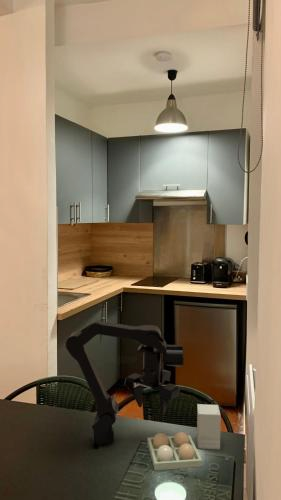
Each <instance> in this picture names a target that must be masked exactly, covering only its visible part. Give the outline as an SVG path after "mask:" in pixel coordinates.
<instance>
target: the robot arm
mask: <svg viewBox="0 0 281 500" xmlns="http://www.w3.org/2000/svg"><path fill="white" fill-rule="evenodd" d="M97 335H100V336H106V337H107V336H108V337H113V338H119V339H120V338H121V339H126V340H132V341H134V342H137V343H138V344H139V346H138V347H137V353H143V354H142V355H143V360H142V361H143V363H142V366H143V367H141V368H140V372H141V373H142V374H138V373H136V372H134V373H132V374H130V375H127V376H126V378H125V380H124V386H125V387H127V389H128V390H129V391H130V393H131V394H132V396H133V397H134V400H135V401H136V403H137V406H138V407H139V408H142V406H143V390H144V387H145V388H148V389H152V390H154V391H158V392H159V395H160V397H159V407H160V408H159V409H160V414H161V416H164V415H165V414H166V411H167V408H168V406H169V404H170V402H171V401H172V400H174V399H175V398H176V397H179V395H181V389H180V387H179V386H178V385H176V384H173V383H167V384H166V385H162V384H164V383H165V381H167V382H170V378H171V373H172V372H171V371H169V370H166V369H164V368H163V366H161V365H162V364H161V363H164V365H166V366H167V367H171V366H172V367H183V366H184V351H183V350H184V348H183V344H167V342H166V340H165V339H164V338H163V336H162V332H161V329H160V328H159V327H158V326H157V325H153V324H148V325H147V324H145V325H137V326H136V325H135V326H134V325H128V324H121V323H114V322H109V321H104V320H101V319H94V321H92V323H90V324H88V325H87V326H85V327H84V328H83V329H81V330H76V331H74V332H72V333H71V335H70V336H69V337H68V338H67V339H66V341H65V348H66V350H67V352H68V353H69V355H70V356H71V358H73V360H75V361H76V362H77V363H78V365H79V368H80V370H81V372H82V375H83V376H84V379H85V381H86V383H87V385H88V388H89V391H90V392H91V394H92V397H93V399H94V402H95V411H96V413H95V416H94V418H93V421H92V425H91V429H92V449H94V450H97V449H98V450H99V447H104V446H109V445H110V444H113V443H115V435H114V434H115V429H114V427H113V425H114V424H115V423H116V419H117V417H118V412H119V405H120V404H119V403H118V402H117V400H116V396H115V394H112V395H110V394H108V392H107V391H106V388H105V386H104V385H103V382H102V380H101V377H100V375H99V372H98V371H97V369H96V367H95V364H94V362H93V359H92V357H91V355H90V348H89V347H90V346H89V341H91V340H92V339H93V338H94V337H96V336H97ZM161 357H162V358H161Z"/></svg>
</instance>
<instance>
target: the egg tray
mask: <svg viewBox="0 0 281 500" xmlns="http://www.w3.org/2000/svg"><path fill="white" fill-rule="evenodd" d="M187 435H188V437H189V444H190V445H192V446H193V448H194V450H195V455H194V458H193V459H191V460H182V459H181V458H180V456H179V448H180V447H178V448H177V447H176V445H175V444H174V437H175V435H173V436H170V435H169V436H167V437H168V440H169V444H168V446H169V447H171V449H172V451H173V458H172V460H171V461H163V462H161V461H159V459H158V457H157V450H158V449H156V448H155V446H154V444H153V440H154V437H155V436H154V437H153V436H151V437H147V447H148V451H149V454H150V458H151V462H152V465H153V469H154V471H165V470H174V469H175V470H179V469H189V468H190V469H192V468H202V467H203V459H202V457H201V456H200V453H199V451H198V448H197V447H196V445H195V443H194V441H193V438H192V437H191V434H187Z"/></svg>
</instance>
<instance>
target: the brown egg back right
mask: <svg viewBox="0 0 281 500" xmlns="http://www.w3.org/2000/svg"><path fill="white" fill-rule="evenodd" d="M188 435H189V434H187V433H186V432H183V431H180V432H177V433H176V434H175V435H174V436H175V437H174V444H175V445H176V447H177V448H178V447H180V446H181V445H182V444H185V443H187V444H189V437H188Z"/></svg>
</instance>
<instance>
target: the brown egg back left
mask: <svg viewBox="0 0 281 500" xmlns="http://www.w3.org/2000/svg"><path fill="white" fill-rule="evenodd" d="M153 444H154V446H155V448H156V449H158V448H159V447H160V446H162V445H168V444H169V440H168V436H167V434H165V433H163V432H162V433H161V432H160V433H157V434H156V435H154V440H153Z"/></svg>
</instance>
